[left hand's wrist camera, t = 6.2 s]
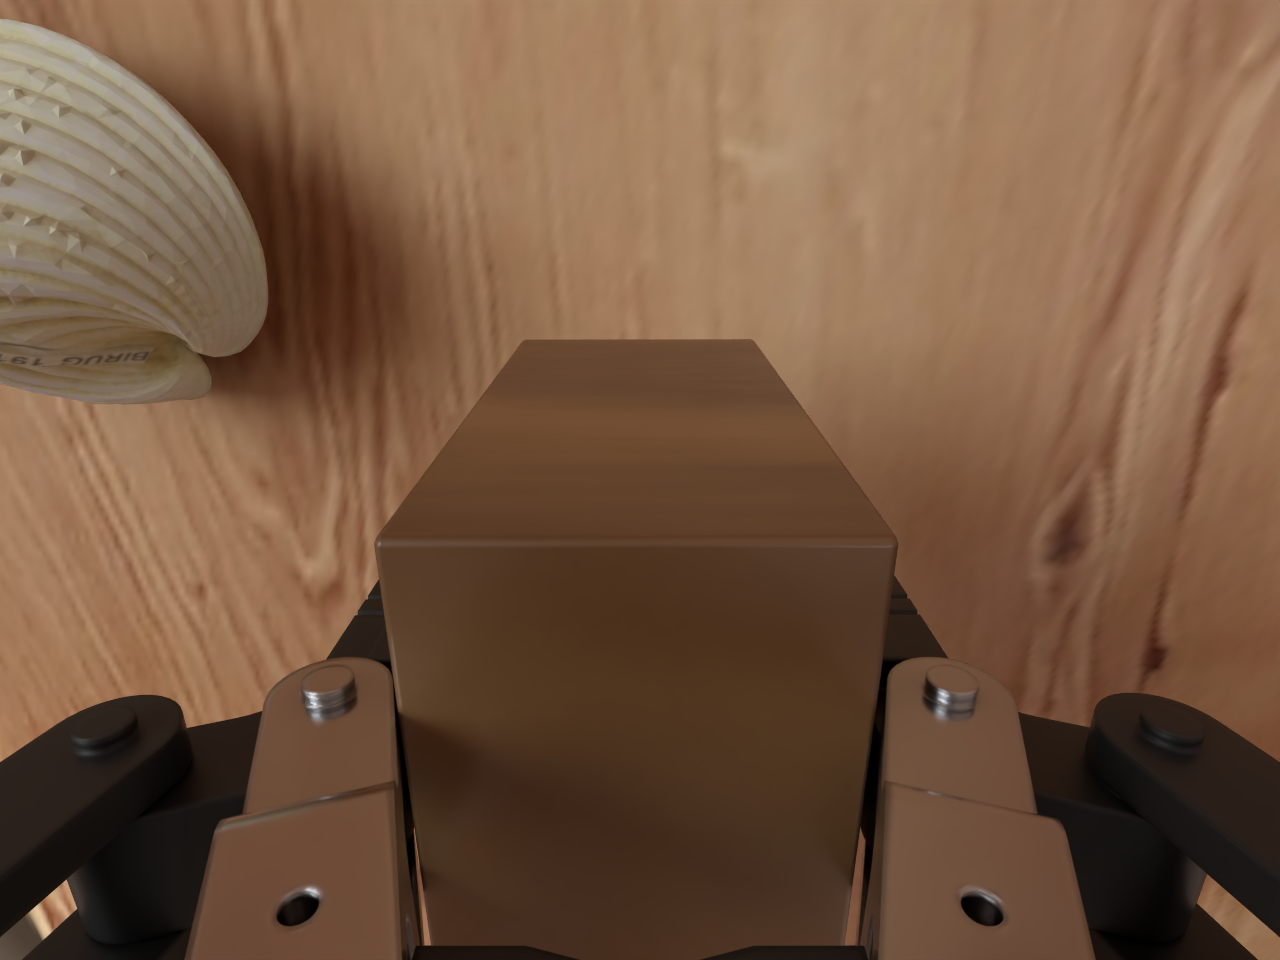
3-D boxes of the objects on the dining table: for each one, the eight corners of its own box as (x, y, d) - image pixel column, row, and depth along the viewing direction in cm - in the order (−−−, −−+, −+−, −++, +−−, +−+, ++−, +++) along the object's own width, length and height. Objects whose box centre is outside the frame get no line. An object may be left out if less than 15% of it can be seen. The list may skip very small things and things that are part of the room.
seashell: (143, 502, 21) (-280, 372, 16) (214, 281, 25) (-98, 119, 20) (291, 370, 17) (-228, 126, 11) (347, 128, 21) (-9, -130, 16)
